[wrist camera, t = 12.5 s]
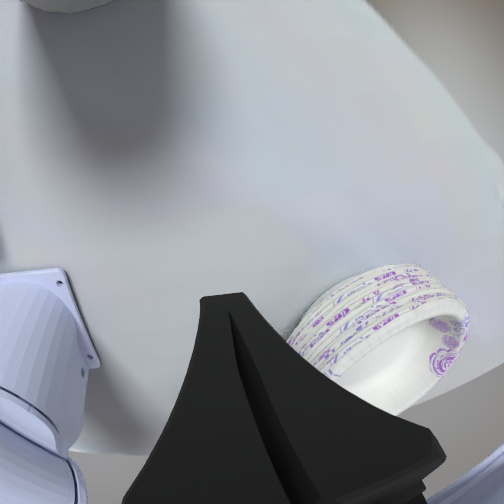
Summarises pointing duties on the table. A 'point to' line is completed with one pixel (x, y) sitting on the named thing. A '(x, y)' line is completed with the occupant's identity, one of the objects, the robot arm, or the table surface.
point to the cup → (66, 5)
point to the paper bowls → (384, 334)
